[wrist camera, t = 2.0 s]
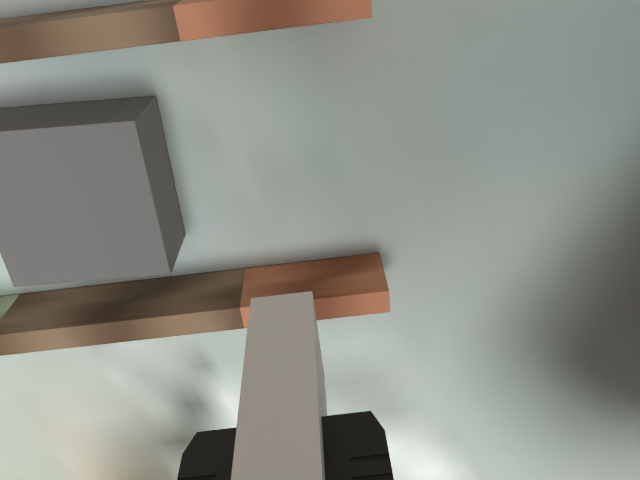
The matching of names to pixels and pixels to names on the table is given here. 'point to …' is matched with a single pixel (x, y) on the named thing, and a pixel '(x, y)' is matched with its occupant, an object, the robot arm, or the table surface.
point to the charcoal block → (87, 192)
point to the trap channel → (188, 290)
